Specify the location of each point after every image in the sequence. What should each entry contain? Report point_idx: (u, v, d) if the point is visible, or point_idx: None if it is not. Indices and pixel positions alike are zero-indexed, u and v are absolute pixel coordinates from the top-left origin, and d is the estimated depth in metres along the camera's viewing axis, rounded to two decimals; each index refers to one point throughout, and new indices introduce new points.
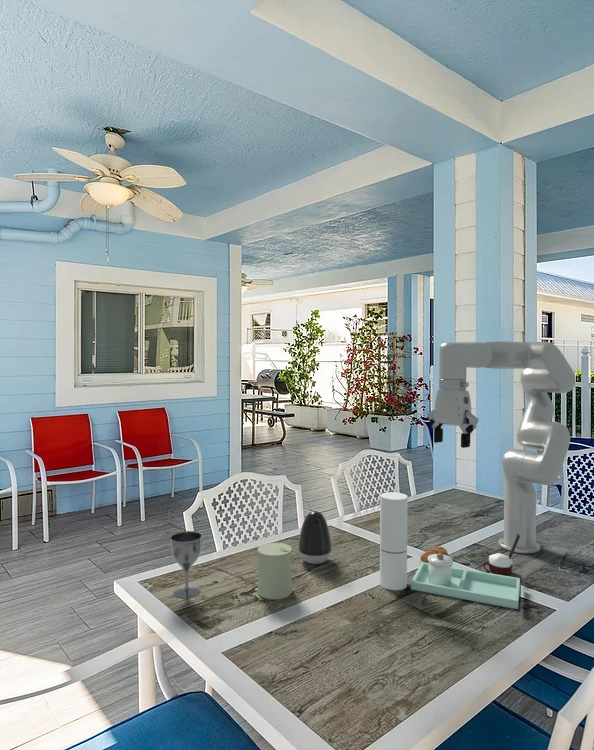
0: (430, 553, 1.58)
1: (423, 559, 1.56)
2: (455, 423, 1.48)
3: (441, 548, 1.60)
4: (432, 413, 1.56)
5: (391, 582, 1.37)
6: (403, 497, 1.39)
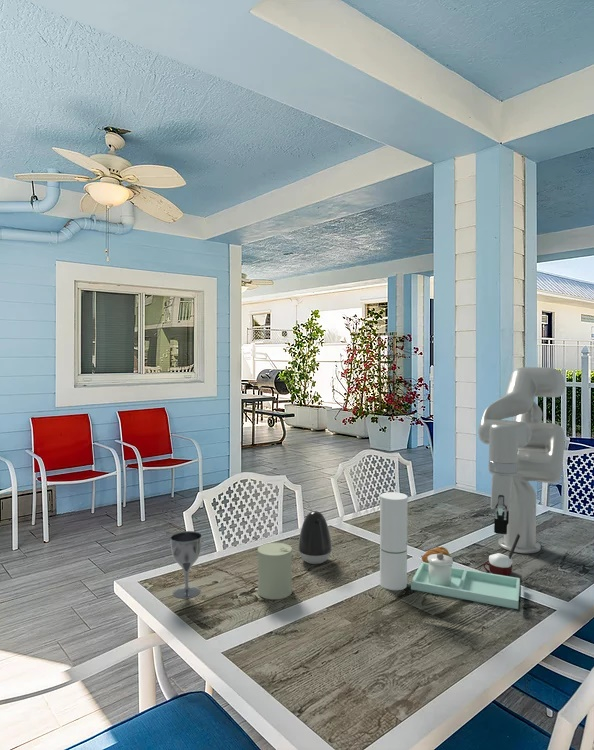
0: (431, 553, 1.57)
1: (425, 559, 1.56)
2: None
3: (442, 548, 1.60)
4: (503, 504, 1.41)
5: (391, 582, 1.37)
6: (403, 497, 1.39)
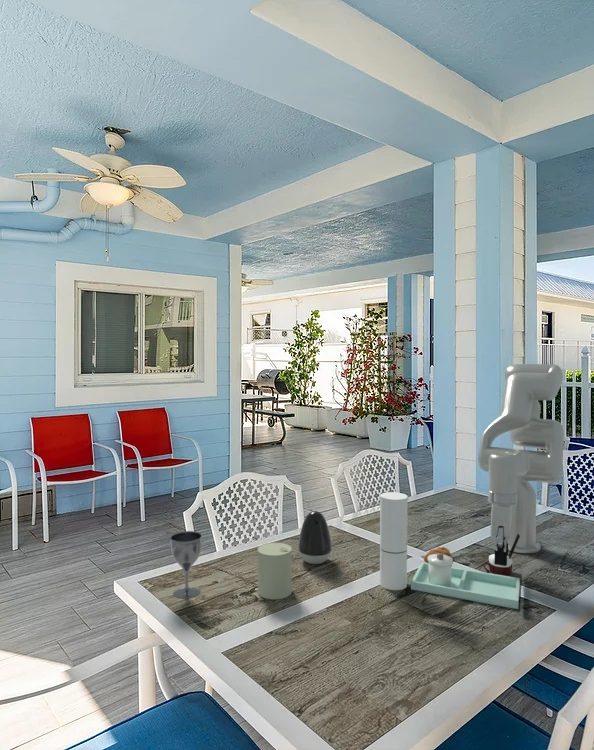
0: None
1: (427, 560, 1.55)
2: None
3: (444, 548, 1.60)
4: (502, 538, 1.42)
5: (391, 582, 1.37)
6: (403, 497, 1.39)
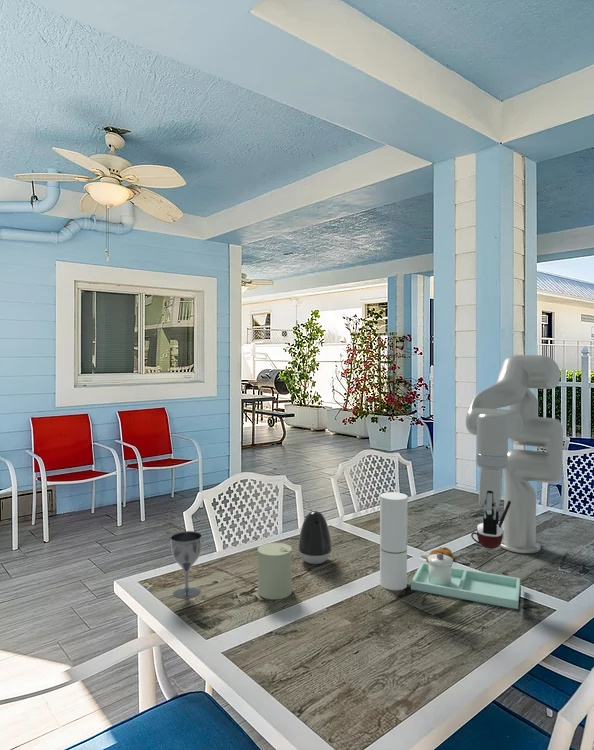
0: None
1: None
2: None
3: (446, 549, 1.60)
4: (492, 504, 1.30)
5: (391, 582, 1.37)
6: (403, 497, 1.39)
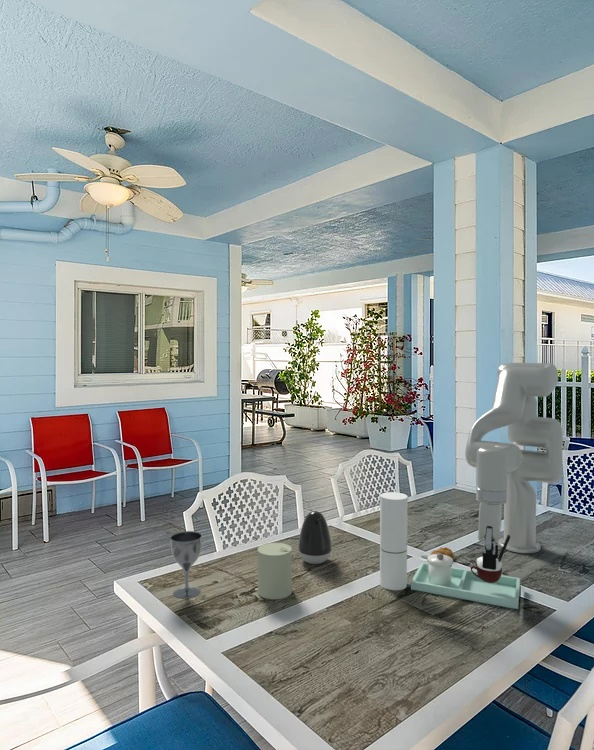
0: None
1: None
2: None
3: (446, 549, 1.60)
4: (491, 539, 1.30)
5: (391, 582, 1.37)
6: (403, 497, 1.39)
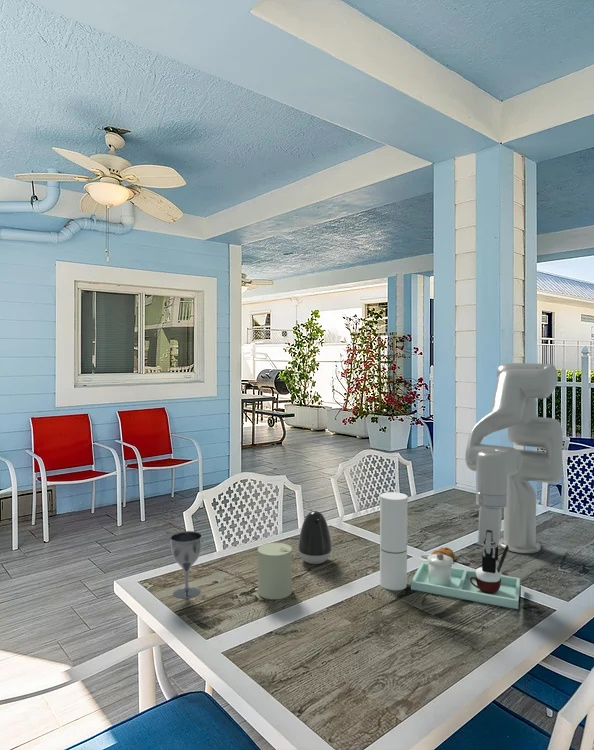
0: None
1: None
2: None
3: (447, 549, 1.60)
4: (491, 542, 1.30)
5: (391, 582, 1.37)
6: (403, 497, 1.39)
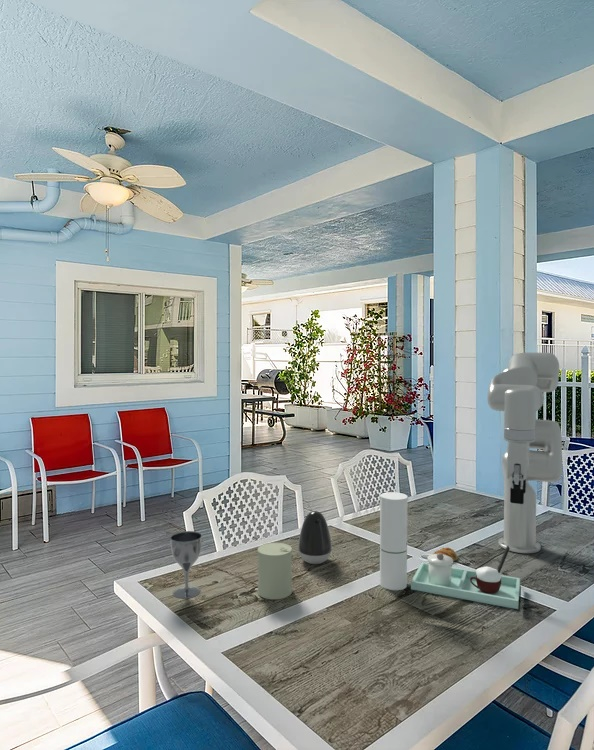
0: None
1: None
2: None
3: (449, 549, 1.59)
4: (519, 473, 1.34)
5: (391, 582, 1.37)
6: (403, 497, 1.39)
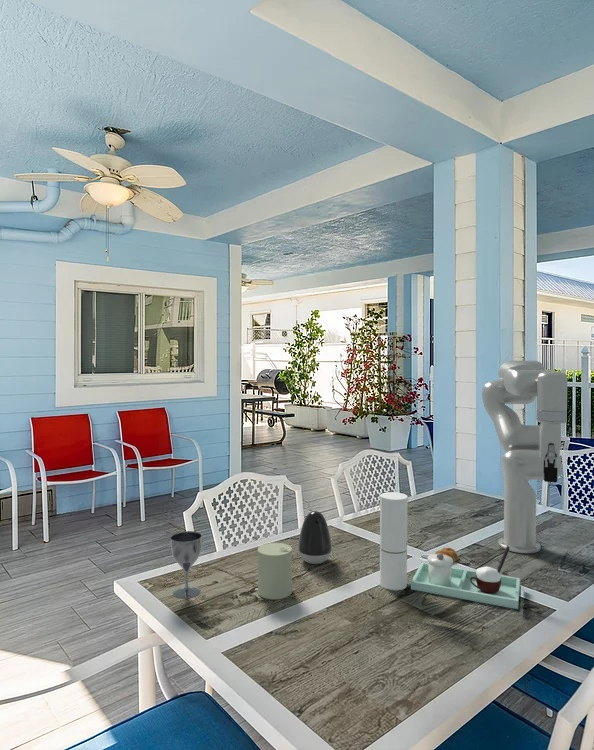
0: None
1: None
2: None
3: (450, 549, 1.59)
4: (553, 452, 1.39)
5: (391, 582, 1.37)
6: (403, 497, 1.39)
